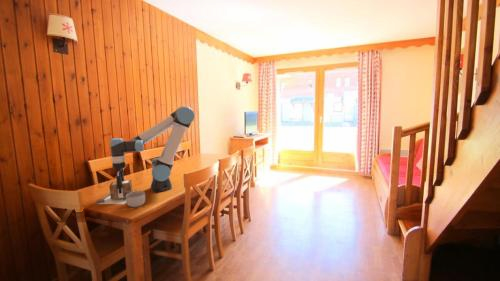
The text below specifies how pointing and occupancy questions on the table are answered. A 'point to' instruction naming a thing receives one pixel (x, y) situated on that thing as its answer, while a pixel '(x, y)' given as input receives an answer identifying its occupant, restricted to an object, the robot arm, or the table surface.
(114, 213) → the table surface
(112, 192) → the wooden box
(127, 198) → the teacup
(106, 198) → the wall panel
